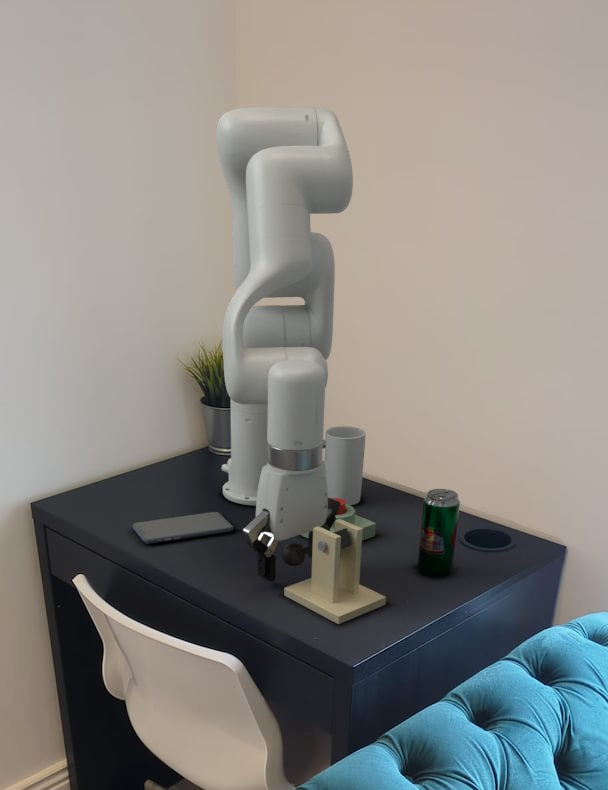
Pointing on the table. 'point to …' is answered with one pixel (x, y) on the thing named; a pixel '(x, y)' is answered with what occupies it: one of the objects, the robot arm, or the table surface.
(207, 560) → the table surface
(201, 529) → the smartphone
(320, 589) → the lever bracket
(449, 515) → the soda can
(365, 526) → the control block
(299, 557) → the ball knob handle
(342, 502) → the button
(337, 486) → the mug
